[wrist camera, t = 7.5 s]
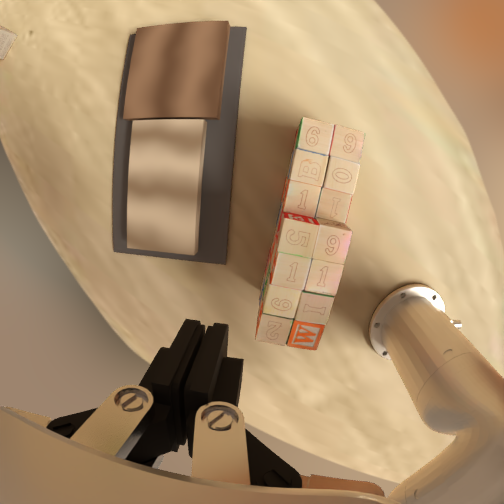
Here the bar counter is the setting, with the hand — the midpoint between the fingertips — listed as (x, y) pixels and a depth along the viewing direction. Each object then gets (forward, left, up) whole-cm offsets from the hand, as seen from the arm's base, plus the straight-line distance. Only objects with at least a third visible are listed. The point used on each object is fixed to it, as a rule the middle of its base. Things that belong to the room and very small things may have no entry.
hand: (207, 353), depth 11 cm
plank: (+11, -4, -26) cm, 29 cm away
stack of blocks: (-6, -1, -28) cm, 28 cm away
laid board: (+11, -19, -27) cm, 34 cm away
